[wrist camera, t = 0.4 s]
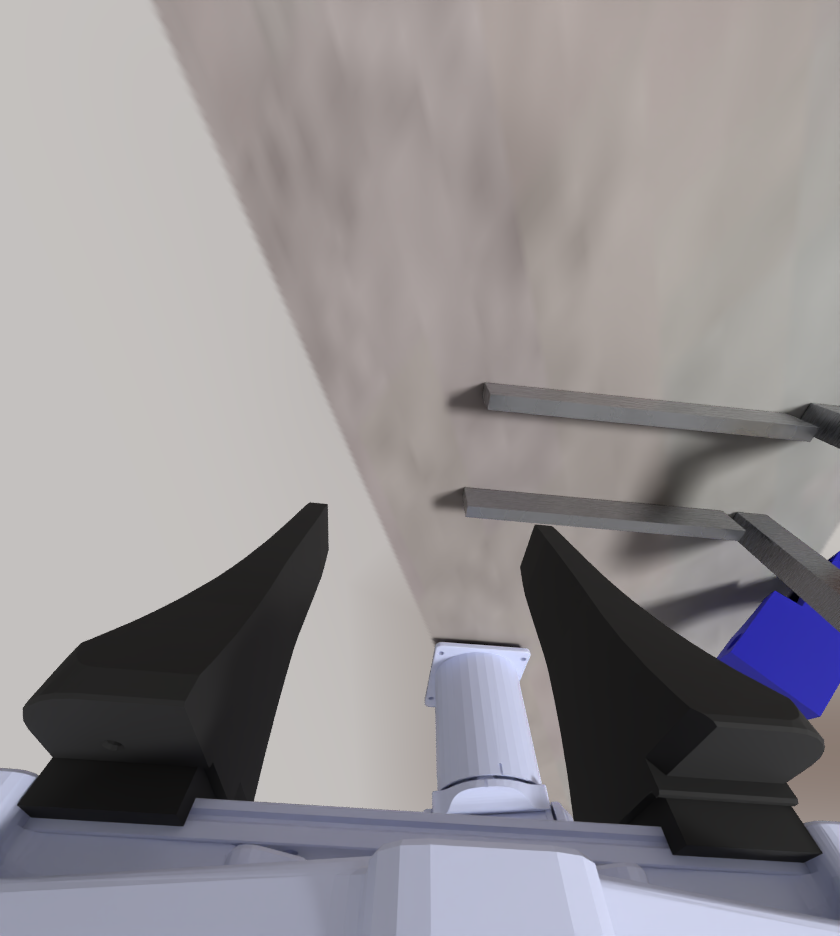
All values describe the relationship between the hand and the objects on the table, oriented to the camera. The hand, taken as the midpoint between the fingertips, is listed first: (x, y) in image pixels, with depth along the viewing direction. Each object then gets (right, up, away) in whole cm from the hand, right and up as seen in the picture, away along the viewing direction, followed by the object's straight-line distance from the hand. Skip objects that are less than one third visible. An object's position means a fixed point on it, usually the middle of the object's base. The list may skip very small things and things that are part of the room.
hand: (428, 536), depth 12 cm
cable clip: (+26, -7, +11) cm, 29 cm away
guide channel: (+11, +3, +9) cm, 15 cm away
